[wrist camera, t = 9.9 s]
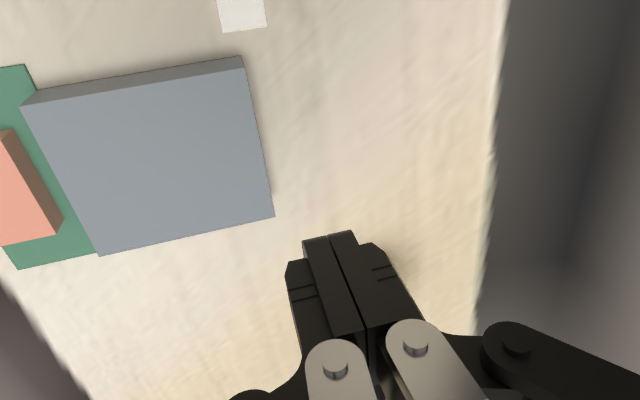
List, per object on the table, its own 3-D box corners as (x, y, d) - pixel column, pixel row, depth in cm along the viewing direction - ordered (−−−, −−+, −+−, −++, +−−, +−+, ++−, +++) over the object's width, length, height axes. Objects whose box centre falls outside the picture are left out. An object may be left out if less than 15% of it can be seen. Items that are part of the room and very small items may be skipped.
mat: (-109, 85, 30) (-111, 86, 29) (24, 64, 31) (22, 65, 31) (19, 268, 40) (18, 270, 39) (115, 246, 41) (115, 248, 41)
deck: (37, 89, 32) (18, 106, 29) (240, 55, 34) (244, 67, 31) (107, 230, 40) (99, 256, 36) (270, 195, 42) (275, 216, 39)
